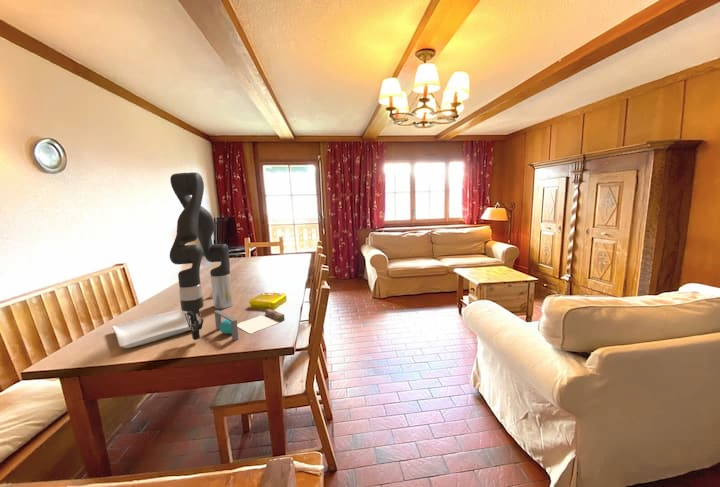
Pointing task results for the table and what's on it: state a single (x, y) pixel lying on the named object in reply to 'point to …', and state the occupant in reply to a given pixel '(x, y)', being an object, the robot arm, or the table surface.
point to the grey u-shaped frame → (233, 321)
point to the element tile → (267, 301)
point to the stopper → (274, 314)
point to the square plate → (151, 328)
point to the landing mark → (256, 324)
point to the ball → (226, 327)
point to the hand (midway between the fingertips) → (196, 338)
